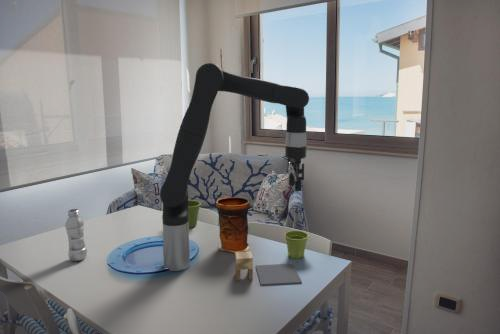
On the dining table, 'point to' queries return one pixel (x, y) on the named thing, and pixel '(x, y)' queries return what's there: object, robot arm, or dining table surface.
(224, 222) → the vessel
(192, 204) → the plant pot
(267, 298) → the dining table surface
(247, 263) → the notched wooden block
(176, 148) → the robot arm
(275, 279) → the mat
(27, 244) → the dining table surface
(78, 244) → the plastic bottle
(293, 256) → the plant pot
